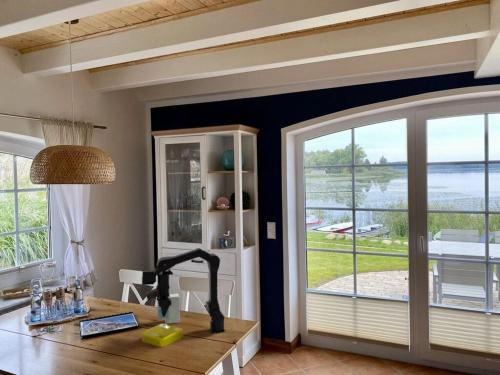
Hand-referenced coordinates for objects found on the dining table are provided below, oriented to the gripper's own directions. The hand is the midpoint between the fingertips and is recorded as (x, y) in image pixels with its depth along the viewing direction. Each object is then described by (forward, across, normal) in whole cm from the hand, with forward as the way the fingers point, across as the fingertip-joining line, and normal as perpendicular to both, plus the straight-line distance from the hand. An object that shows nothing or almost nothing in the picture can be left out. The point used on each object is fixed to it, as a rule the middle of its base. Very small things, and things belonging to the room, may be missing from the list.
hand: (163, 314), depth 188 cm
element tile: (+12, +1, 0) cm, 12 cm away
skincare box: (+12, -20, +7) cm, 24 cm away
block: (+1, 0, 0) cm, 1 cm away
